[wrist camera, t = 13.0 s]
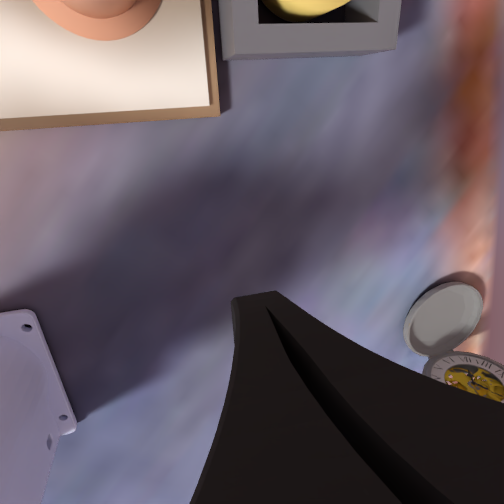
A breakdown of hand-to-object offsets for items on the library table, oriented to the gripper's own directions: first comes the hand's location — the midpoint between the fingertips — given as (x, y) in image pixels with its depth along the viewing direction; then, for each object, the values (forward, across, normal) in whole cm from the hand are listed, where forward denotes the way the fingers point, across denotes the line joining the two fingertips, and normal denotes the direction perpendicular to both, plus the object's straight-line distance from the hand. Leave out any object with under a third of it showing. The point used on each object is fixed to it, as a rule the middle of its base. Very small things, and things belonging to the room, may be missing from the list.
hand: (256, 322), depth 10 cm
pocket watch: (+11, -17, +12) cm, 23 cm away
